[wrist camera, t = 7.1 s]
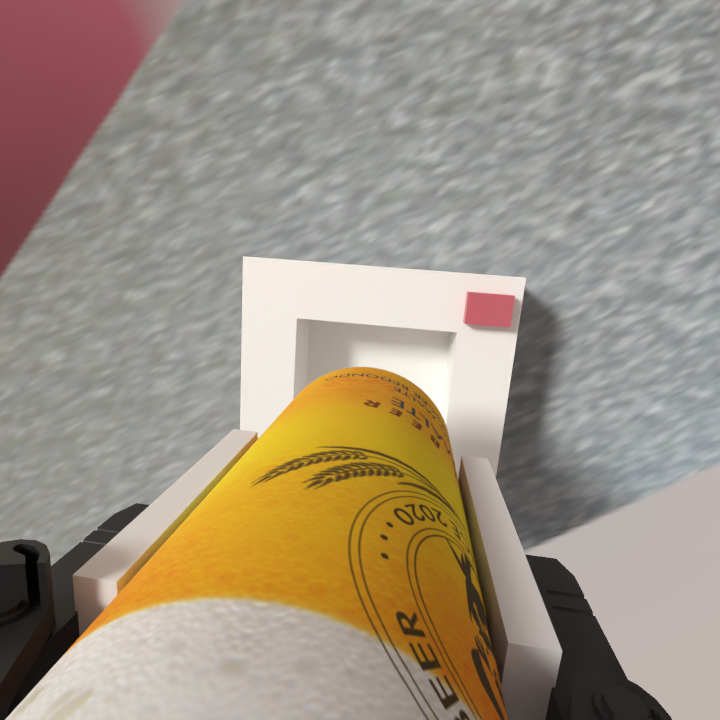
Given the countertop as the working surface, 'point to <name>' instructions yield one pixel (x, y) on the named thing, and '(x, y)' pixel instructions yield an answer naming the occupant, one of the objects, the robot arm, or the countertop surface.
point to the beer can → (303, 583)
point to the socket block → (382, 339)
